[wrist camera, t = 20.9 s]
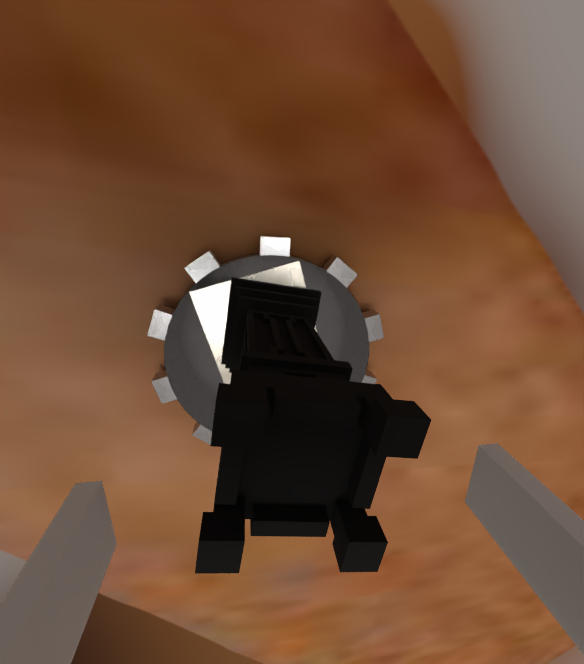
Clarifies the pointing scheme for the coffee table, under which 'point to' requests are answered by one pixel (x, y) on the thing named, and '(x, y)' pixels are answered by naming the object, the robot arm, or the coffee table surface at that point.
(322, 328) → the sprocket
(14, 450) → the coffee table surface
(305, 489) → the chess piece
